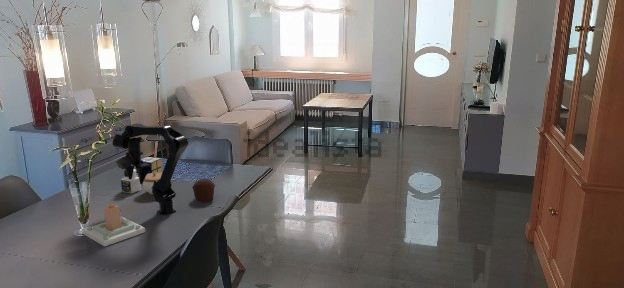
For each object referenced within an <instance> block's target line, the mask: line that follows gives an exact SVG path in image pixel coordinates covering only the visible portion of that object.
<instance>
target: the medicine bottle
mask: <svg viewBox="0 0 624 288" xmlns="http://www.w3.org/2000/svg"><path fill="white" fill-rule="evenodd" d="M123 176H124V177H123V178H121V179H120V184H121V185H120V186H121V192H123V193H126V194H134V193H136V192H140V191H142V184H140V181H139V177H138V176H137V173H136V168H134V170H133V176H132V179H129V177H128V175H127V172H126V170H125V169H123Z"/></svg>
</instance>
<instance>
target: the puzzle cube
mask: <svg viewBox="0 0 624 288" xmlns="http://www.w3.org/2000/svg"><path fill="white" fill-rule="evenodd" d="M141 160H143V163H141V164H144V163H146V164H149V165H151V167H152V170H151V171H150V172H148V174H150V173H153V172H156V173H162V172H163V167H162V164H163V163H162V162H163V161H162V158H161V157H149V156H146V157H144V158H141ZM137 177H139V175H138V174H137Z"/></svg>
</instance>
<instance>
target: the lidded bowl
mask: <svg viewBox="0 0 624 288" xmlns="http://www.w3.org/2000/svg"><path fill="white" fill-rule="evenodd" d="M161 175H162V173H156V172H153V173H150V174H147V175H146V177H145V179H144V182H143V184H142V186H143V188H144V190H145V191H146V192H147V193H148V194H149V195H153V193H152V189H153V188H152V187H153V183H154V181H156V180H158V179H160V178H161ZM153 196H154V195H153Z"/></svg>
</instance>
